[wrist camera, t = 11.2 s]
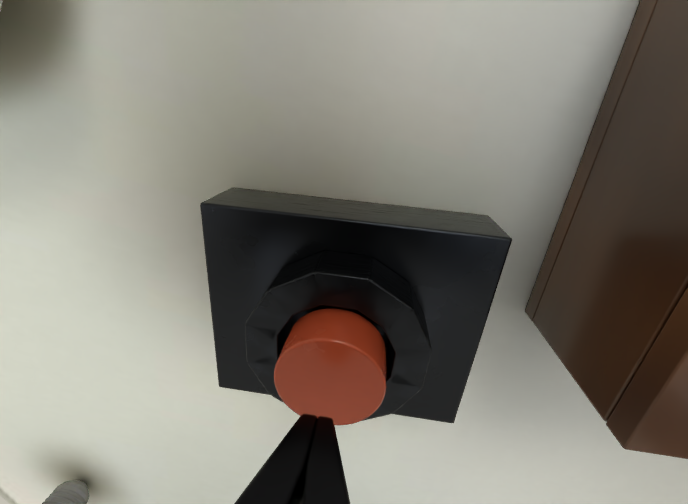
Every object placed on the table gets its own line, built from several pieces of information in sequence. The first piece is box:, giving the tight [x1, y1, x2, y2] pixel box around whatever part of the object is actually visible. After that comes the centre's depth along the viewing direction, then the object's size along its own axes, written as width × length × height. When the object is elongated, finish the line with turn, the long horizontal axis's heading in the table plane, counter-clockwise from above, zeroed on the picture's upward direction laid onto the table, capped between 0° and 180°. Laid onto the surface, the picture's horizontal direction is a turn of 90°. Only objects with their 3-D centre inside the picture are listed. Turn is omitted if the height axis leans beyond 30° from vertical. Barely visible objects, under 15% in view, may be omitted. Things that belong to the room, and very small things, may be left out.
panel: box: [200, 188, 512, 423], centre depth 13 cm, size 11×9×4 cm
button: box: [274, 308, 386, 425], centre depth 11 cm, size 4×4×2 cm
